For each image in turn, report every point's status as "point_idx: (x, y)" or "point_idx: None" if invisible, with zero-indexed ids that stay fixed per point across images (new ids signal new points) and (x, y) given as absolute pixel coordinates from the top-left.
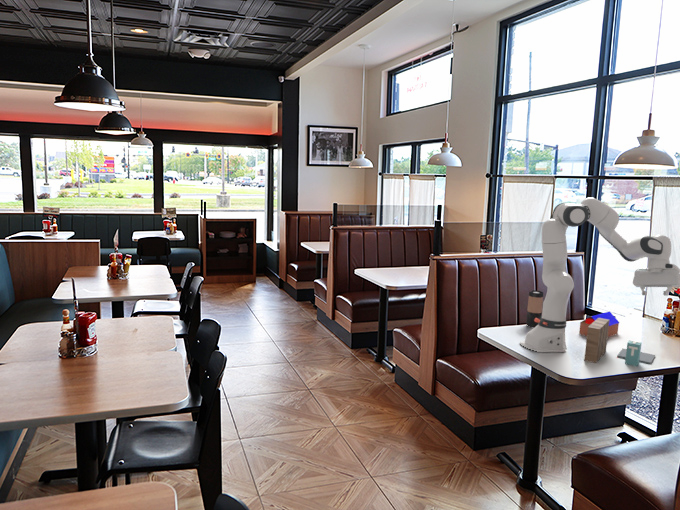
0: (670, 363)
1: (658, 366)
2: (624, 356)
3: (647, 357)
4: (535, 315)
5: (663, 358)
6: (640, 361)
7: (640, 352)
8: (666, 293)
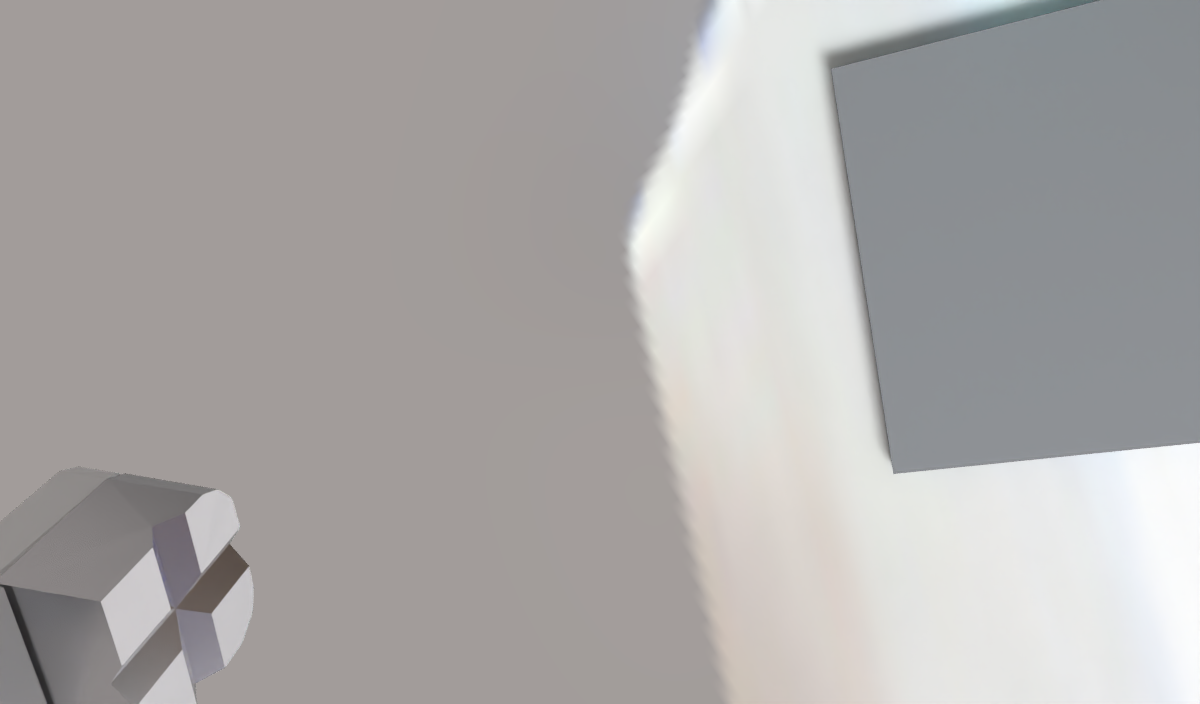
0: (684, 328)
1: (749, 74)
2: (1197, 3)
3: (933, 256)
4: None
5: (796, 475)
6: (960, 39)
7: (1084, 423)
8: (57, 489)
